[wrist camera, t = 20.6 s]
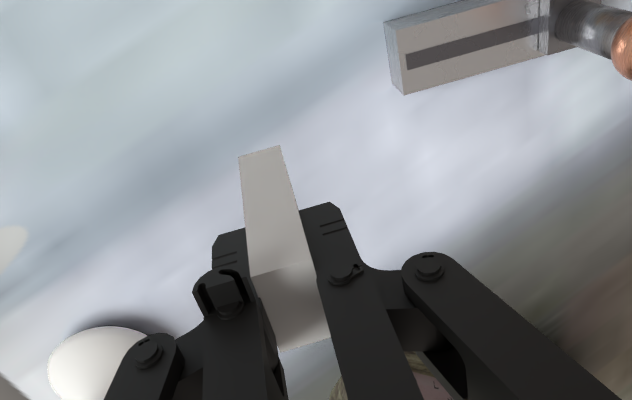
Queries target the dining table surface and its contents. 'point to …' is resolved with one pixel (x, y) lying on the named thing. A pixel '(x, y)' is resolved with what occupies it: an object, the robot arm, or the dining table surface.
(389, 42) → the lever track
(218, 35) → the dining table surface
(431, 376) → the tabletop clock
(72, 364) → the flower in vase
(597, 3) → the lever handle
